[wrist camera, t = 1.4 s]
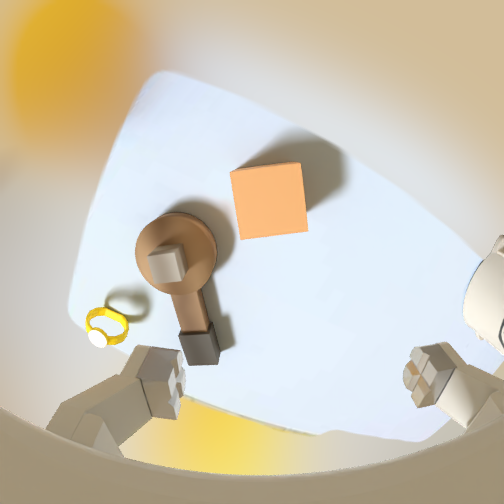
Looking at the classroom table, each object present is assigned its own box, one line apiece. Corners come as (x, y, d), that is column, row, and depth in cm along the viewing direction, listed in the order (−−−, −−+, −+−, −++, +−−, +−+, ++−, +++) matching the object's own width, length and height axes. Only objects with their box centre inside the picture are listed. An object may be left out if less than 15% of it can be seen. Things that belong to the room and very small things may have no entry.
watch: (96, 312, 36) (76, 334, 30) (99, 297, 35) (77, 319, 29) (131, 331, 36) (115, 356, 31) (135, 316, 35) (117, 342, 30)
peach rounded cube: (292, 161, 28) (300, 163, 23) (299, 216, 30) (308, 231, 25) (236, 169, 29) (229, 172, 23) (244, 223, 31) (240, 239, 25)
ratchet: (209, 206, 30) (198, 217, 25) (238, 351, 36) (235, 379, 31) (135, 219, 31) (114, 231, 26) (176, 354, 37) (165, 380, 32)
